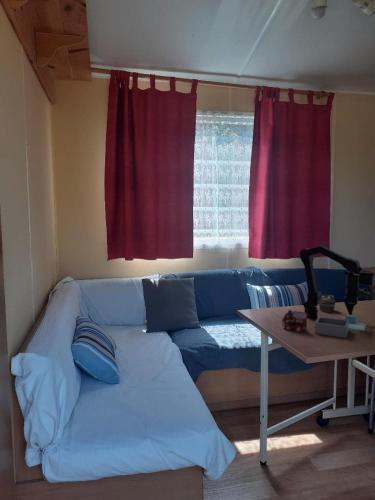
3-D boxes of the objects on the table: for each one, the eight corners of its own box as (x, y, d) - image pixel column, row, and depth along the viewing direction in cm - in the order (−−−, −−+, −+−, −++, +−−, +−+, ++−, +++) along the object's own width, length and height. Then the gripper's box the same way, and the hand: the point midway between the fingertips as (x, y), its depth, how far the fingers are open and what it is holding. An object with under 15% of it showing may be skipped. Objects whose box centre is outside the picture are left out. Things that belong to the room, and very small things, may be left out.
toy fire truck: (284, 327, 185) (285, 307, 184) (309, 331, 178) (309, 310, 177) (280, 330, 179) (280, 310, 178) (305, 334, 173) (305, 314, 172)
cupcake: (336, 309, 219) (336, 293, 218) (333, 313, 211) (334, 296, 210) (320, 307, 224) (320, 292, 223) (316, 311, 216) (317, 295, 215)
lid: (333, 329, 182) (333, 319, 182) (336, 322, 193) (336, 314, 193) (364, 333, 175) (365, 323, 175) (365, 326, 186) (366, 317, 186)
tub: (314, 334, 172) (315, 322, 172) (318, 328, 183) (318, 316, 182) (346, 339, 166) (346, 326, 165) (348, 332, 176) (348, 320, 176)
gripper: (368, 288, 174) (367, 319, 176) (369, 282, 191) (368, 310, 192) (344, 286, 180) (343, 316, 181) (347, 280, 196) (346, 308, 197)
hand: (351, 312), depth 188 cm, fingers open, 9 cm apart
